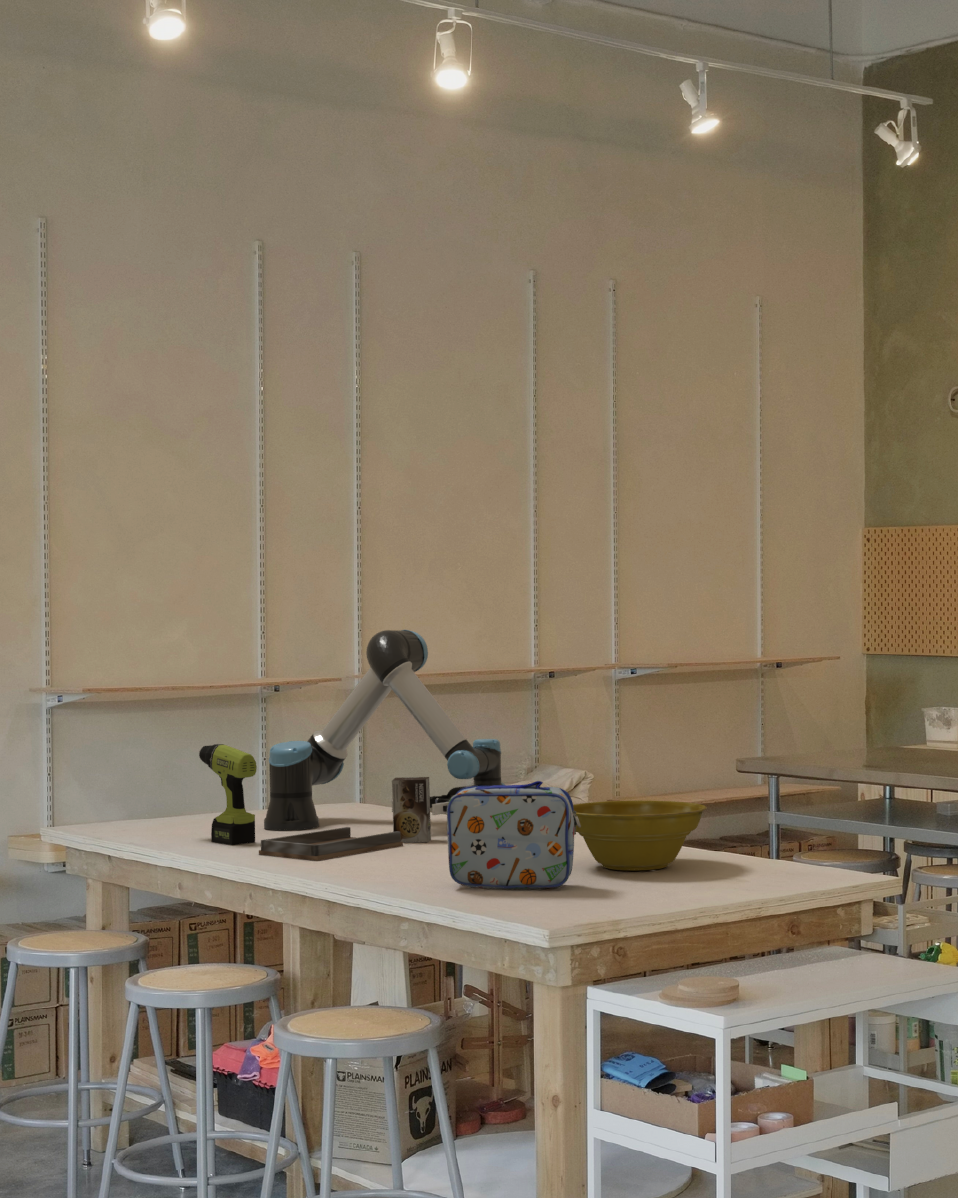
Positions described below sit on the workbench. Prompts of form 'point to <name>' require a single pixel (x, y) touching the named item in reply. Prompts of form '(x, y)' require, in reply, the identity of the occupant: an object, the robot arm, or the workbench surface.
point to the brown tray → (327, 844)
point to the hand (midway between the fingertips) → (412, 808)
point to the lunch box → (511, 836)
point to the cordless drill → (231, 793)
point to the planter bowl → (636, 831)
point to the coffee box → (411, 808)
